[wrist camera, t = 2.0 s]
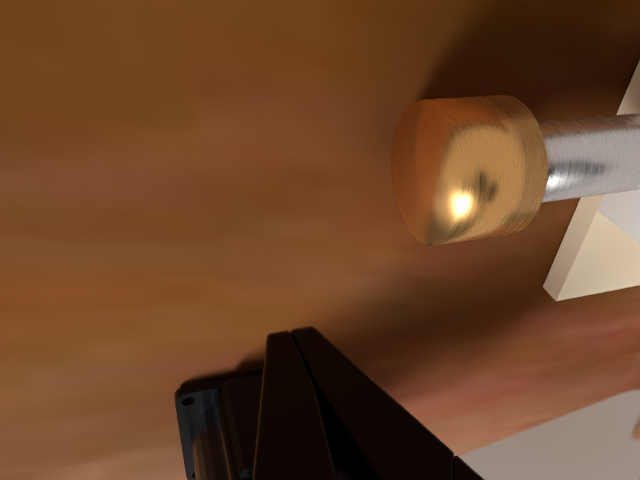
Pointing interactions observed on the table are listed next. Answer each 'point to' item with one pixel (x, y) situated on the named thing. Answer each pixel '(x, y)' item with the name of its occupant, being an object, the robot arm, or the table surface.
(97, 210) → the table surface
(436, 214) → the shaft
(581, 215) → the bearing block
